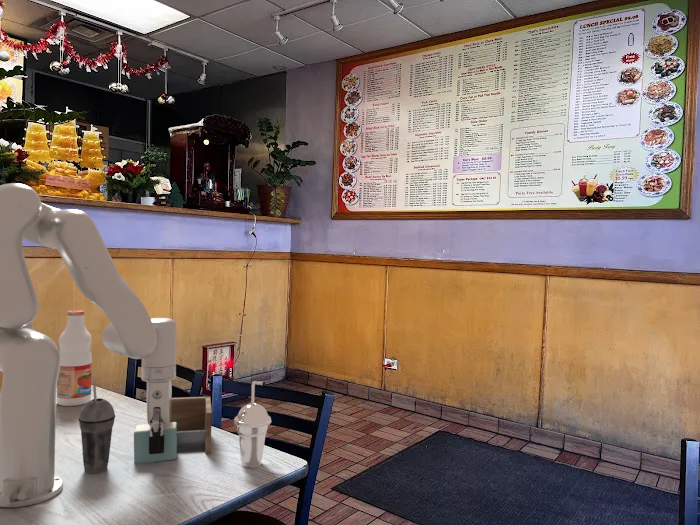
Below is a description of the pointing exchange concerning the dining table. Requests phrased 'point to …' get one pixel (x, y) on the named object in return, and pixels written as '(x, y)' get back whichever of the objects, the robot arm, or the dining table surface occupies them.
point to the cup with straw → (252, 431)
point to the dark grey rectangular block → (190, 441)
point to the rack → (193, 416)
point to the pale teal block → (143, 443)
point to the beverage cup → (96, 433)
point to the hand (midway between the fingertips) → (157, 445)
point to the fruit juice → (75, 362)
